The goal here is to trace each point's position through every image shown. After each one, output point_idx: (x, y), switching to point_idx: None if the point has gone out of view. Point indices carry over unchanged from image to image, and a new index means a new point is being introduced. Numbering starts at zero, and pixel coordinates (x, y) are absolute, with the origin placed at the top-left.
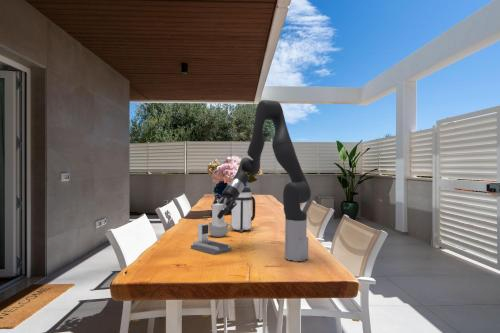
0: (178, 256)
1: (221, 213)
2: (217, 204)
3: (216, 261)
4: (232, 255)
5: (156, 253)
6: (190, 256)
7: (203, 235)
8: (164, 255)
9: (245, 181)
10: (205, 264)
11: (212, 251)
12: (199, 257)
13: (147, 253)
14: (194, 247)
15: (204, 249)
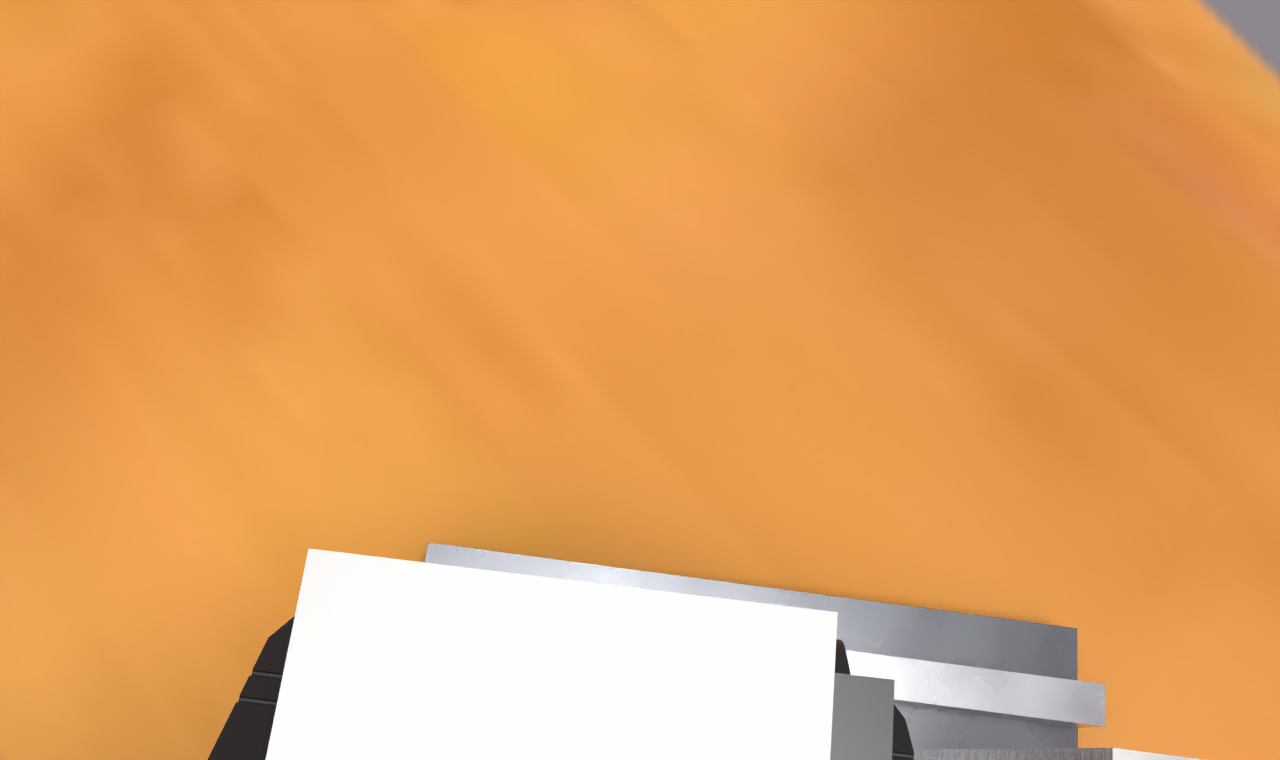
0: (805, 176)
1: (255, 703)
2: (490, 703)
3: (175, 281)
4: (145, 715)
5: (1156, 123)
6: (673, 268)
7: None
8: (989, 111)
9: None
10: (222, 94)
11: (483, 551)
12: (527, 301)
13: (1237, 61)
14: (962, 616)
15: (694, 580)
